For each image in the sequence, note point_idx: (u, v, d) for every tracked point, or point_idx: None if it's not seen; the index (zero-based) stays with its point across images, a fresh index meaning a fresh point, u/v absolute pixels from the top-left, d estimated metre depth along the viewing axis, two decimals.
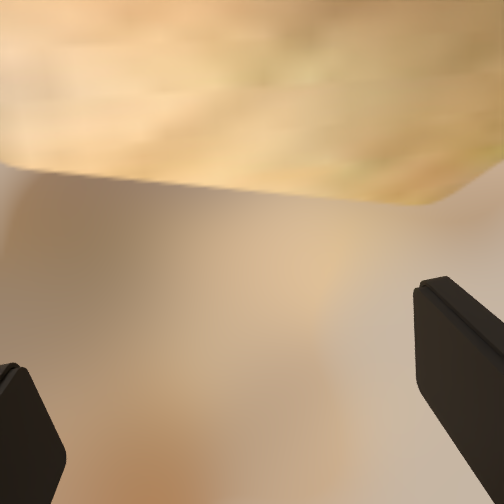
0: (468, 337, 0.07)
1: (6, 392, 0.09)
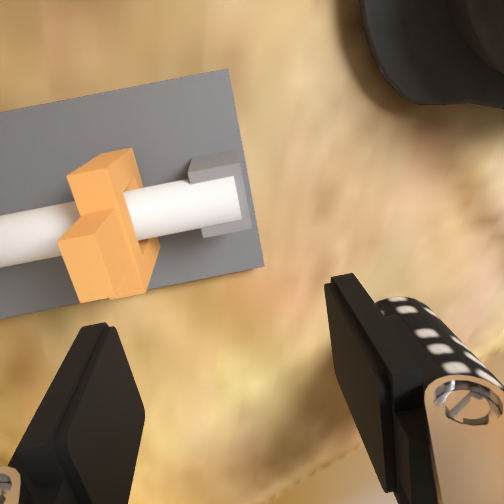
0: (351, 326, 0.08)
1: (105, 346, 0.10)
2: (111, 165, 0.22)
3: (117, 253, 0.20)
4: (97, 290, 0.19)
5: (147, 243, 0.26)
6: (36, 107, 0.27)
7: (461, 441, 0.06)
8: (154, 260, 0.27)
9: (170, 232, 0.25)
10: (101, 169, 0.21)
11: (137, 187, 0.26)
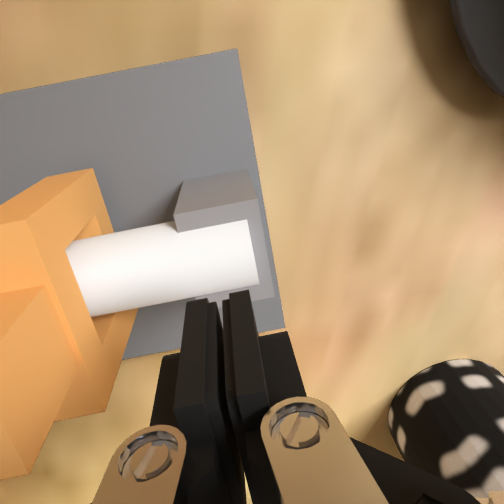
0: (225, 345, 0.09)
1: (216, 318, 0.10)
2: (39, 210, 0.13)
3: (43, 374, 0.11)
4: None
5: (114, 316, 0.17)
6: None
7: (301, 468, 0.06)
8: (126, 337, 0.18)
9: (147, 305, 0.16)
10: (16, 221, 0.12)
11: (99, 229, 0.17)
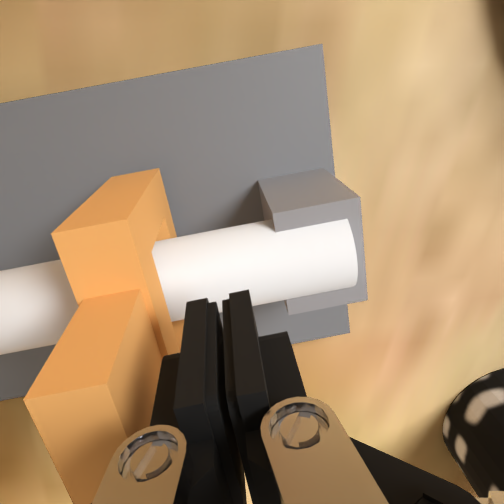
0: (225, 345, 0.09)
1: (216, 318, 0.10)
2: (134, 210, 0.12)
3: (147, 384, 0.11)
4: None
5: None
6: (21, 102, 0.17)
7: (301, 468, 0.06)
8: None
9: None
10: (117, 221, 0.11)
11: (168, 231, 0.17)
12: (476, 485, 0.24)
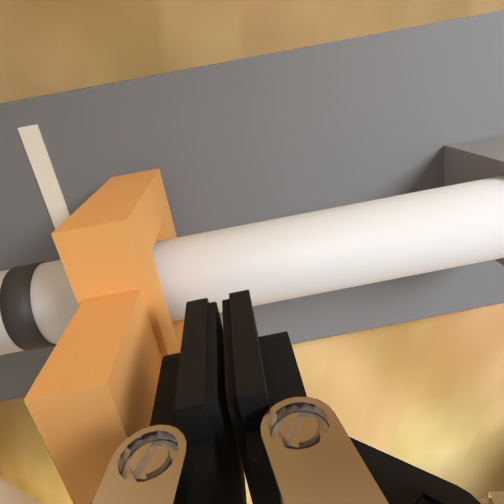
0: (225, 345, 0.09)
1: (216, 318, 0.10)
2: (134, 210, 0.12)
3: (147, 384, 0.11)
4: None
5: None
6: (231, 64, 0.17)
7: (301, 468, 0.06)
8: None
9: (471, 263, 0.15)
10: (117, 221, 0.11)
11: (168, 232, 0.17)
12: None
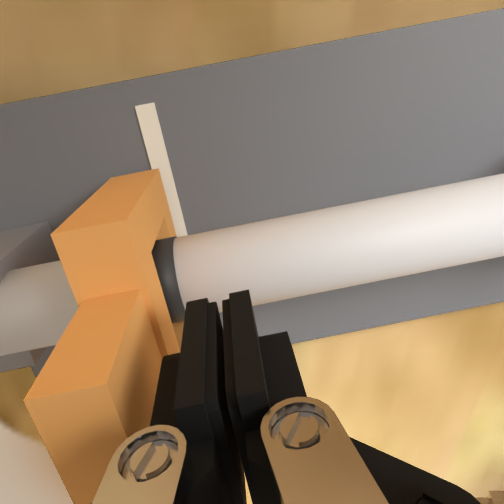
0: (225, 345, 0.09)
1: (216, 318, 0.10)
2: (133, 211, 0.12)
3: (147, 384, 0.11)
4: None
5: None
6: (349, 40, 0.17)
7: (301, 468, 0.06)
8: None
9: None
10: (116, 222, 0.11)
11: (167, 232, 0.17)
12: None
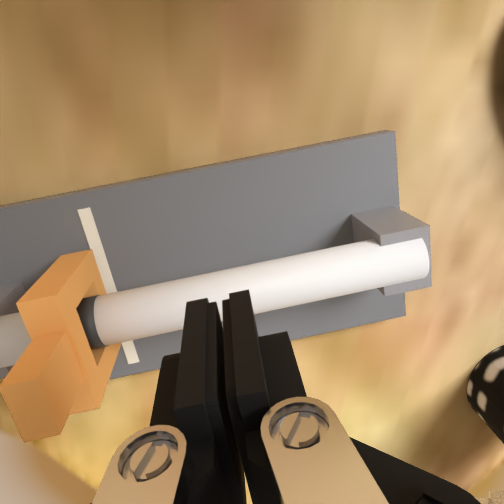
0: (225, 345, 0.09)
1: (216, 318, 0.10)
2: (63, 287, 0.22)
3: (65, 382, 0.20)
4: (41, 429, 0.19)
5: (105, 347, 0.26)
6: (212, 169, 0.27)
7: (301, 468, 0.06)
8: (113, 362, 0.27)
9: (356, 292, 0.25)
10: (51, 296, 0.21)
11: (96, 290, 0.27)
12: (494, 424, 0.34)
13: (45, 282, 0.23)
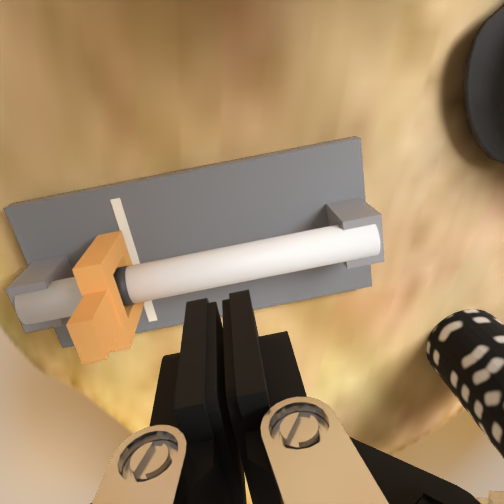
0: (225, 345, 0.09)
1: (216, 318, 0.10)
2: (104, 259, 0.30)
3: (108, 325, 0.28)
4: (93, 355, 0.27)
5: (132, 305, 0.34)
6: (215, 168, 0.35)
7: (301, 468, 0.06)
8: (138, 317, 0.35)
9: (325, 265, 0.33)
10: (97, 264, 0.29)
11: (125, 262, 0.35)
12: (444, 375, 0.42)
13: (90, 255, 0.31)
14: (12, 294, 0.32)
